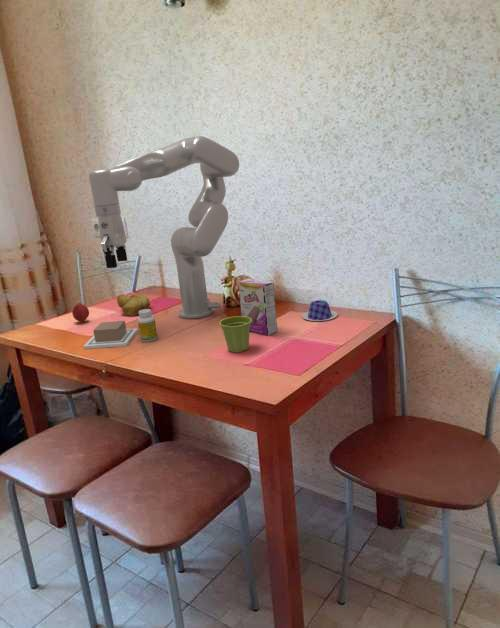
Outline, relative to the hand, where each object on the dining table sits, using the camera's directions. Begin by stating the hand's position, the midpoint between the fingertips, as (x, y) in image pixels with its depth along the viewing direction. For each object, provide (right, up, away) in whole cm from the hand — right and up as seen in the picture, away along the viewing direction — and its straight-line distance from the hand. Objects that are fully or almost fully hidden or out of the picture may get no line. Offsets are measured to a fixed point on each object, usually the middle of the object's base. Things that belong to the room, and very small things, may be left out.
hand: (117, 264), depth 163 cm
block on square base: (-3, -24, +4) cm, 25 cm away
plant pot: (+39, -26, -14) cm, 49 cm away
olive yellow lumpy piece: (-1, -15, +33) cm, 36 cm away
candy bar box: (+46, -22, -1) cm, 51 cm away
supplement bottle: (+10, -24, +1) cm, 26 cm away
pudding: (+66, -17, +8) cm, 69 cm away
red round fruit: (-20, -19, +26) cm, 38 cm away
